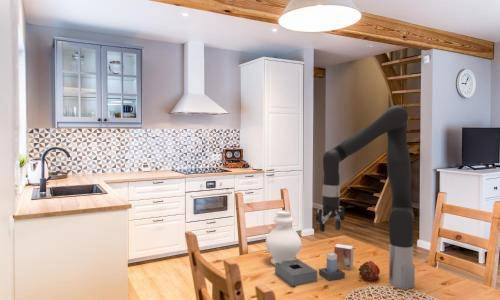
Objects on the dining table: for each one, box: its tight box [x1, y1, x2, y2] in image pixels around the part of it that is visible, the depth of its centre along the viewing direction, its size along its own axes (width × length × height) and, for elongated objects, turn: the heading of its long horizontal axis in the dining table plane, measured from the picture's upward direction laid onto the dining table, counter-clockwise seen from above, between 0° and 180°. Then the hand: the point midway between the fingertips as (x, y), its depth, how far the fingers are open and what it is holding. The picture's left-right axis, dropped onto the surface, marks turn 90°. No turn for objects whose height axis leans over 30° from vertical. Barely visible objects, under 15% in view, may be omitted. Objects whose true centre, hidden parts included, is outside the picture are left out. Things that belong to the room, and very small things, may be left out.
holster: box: [318, 267, 346, 282], centre depth 161 cm, size 8×8×3 cm
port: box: [274, 258, 318, 288], centre depth 161 cm, size 16×12×6 cm
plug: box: [326, 252, 337, 273], centre depth 161 cm, size 3×3×10 cm
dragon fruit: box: [358, 260, 381, 281], centre depth 159 cm, size 8×8×12 cm
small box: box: [333, 243, 355, 271], centre depth 172 cm, size 8×6×10 cm
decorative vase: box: [265, 209, 303, 266], centre depth 180 cm, size 18×18×25 cm
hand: (329, 230), depth 163 cm, fingers open, 8 cm apart
